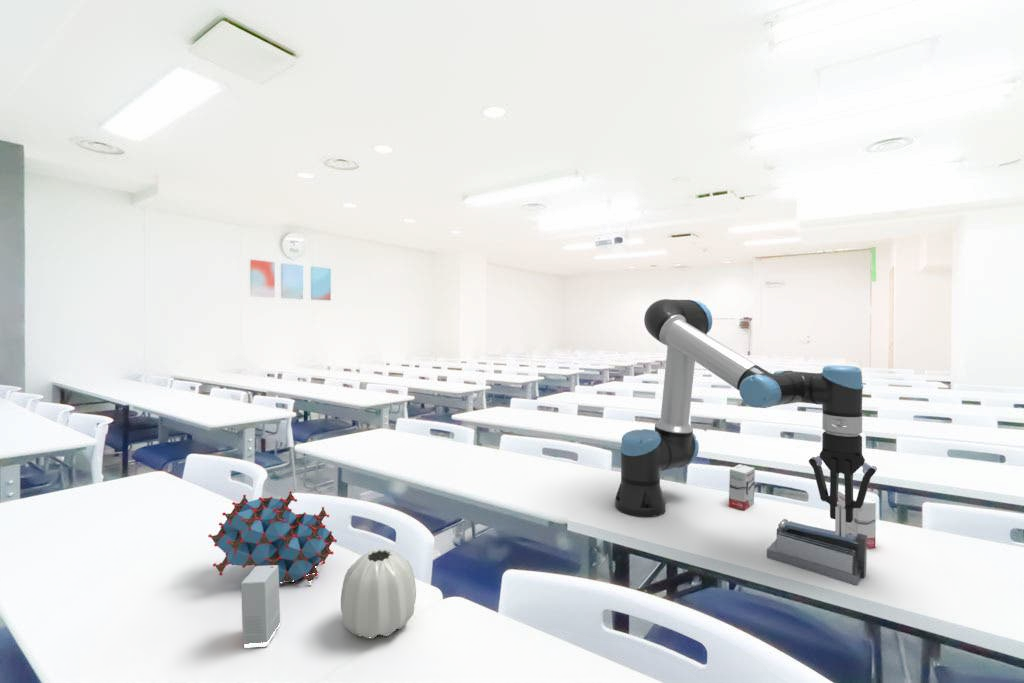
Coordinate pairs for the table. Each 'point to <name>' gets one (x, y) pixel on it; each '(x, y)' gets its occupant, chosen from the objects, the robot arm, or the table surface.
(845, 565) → the heatsink
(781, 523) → the blue long flat bar
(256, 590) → the skincare box
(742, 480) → the ink box
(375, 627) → the vase
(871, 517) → the ink box
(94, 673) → the table surface
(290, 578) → the molecule model
